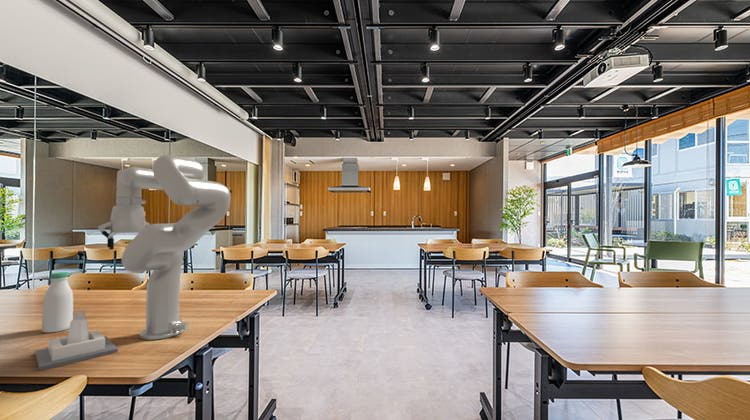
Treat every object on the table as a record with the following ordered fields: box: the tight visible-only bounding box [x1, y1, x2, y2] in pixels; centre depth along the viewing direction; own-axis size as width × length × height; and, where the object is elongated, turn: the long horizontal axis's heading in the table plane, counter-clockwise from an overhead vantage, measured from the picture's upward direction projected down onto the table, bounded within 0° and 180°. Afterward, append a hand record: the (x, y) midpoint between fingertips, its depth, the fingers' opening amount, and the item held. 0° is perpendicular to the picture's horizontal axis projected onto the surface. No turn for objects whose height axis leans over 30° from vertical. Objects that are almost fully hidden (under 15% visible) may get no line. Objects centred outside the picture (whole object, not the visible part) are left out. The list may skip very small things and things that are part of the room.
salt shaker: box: [67, 309, 89, 345], centre depth 95 cm, size 5×5×11 cm
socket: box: [34, 329, 119, 372], centre depth 94 cm, size 16×16×4 cm
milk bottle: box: [41, 271, 74, 333], centre depth 115 cm, size 8×8×20 cm
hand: (127, 248), depth 121 cm, fingers open, 9 cm apart
